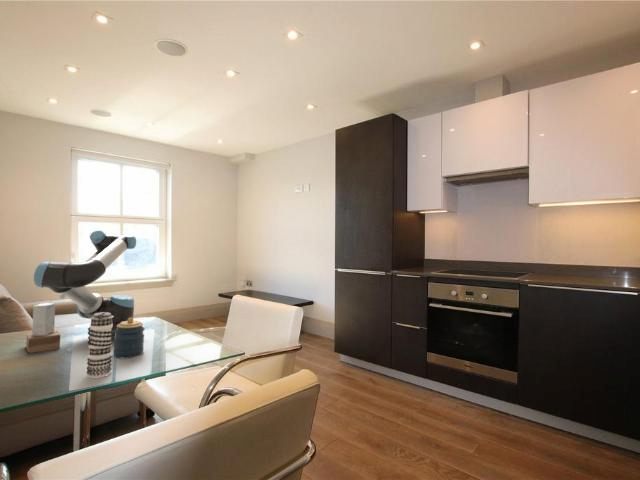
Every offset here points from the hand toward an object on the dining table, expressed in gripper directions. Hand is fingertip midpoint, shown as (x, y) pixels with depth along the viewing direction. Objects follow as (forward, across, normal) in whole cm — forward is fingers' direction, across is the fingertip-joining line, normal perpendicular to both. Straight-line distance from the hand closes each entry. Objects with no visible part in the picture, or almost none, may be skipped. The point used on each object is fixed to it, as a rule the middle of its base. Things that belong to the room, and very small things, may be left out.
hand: (60, 297), depth 177 cm
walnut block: (+23, -3, -11) cm, 25 cm away
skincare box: (+18, -2, -6) cm, 19 cm away
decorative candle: (+26, -58, -2) cm, 64 cm away
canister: (+11, -46, -19) cm, 51 cm away
